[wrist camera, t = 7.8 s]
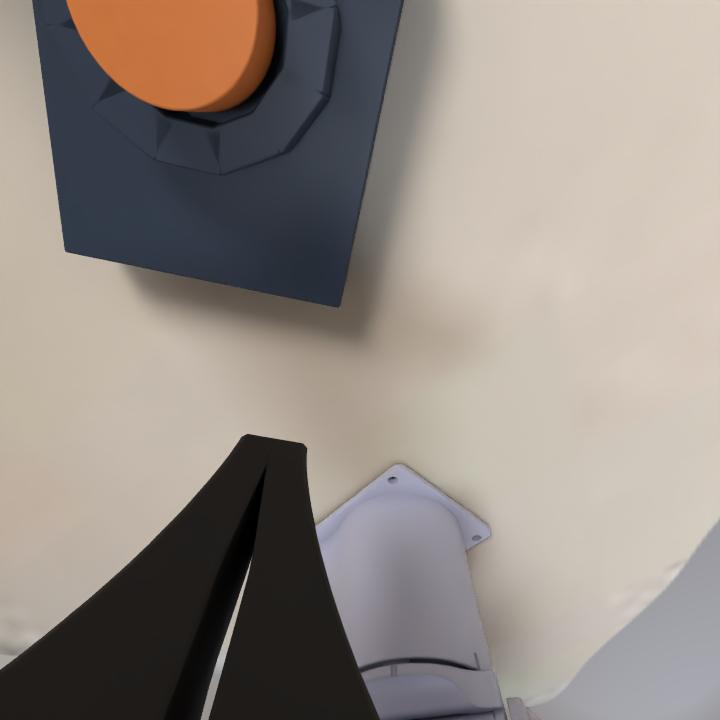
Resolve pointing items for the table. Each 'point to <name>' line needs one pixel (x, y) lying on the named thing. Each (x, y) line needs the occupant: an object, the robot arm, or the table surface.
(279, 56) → the dark blue button base
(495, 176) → the table surface
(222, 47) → the orange button
